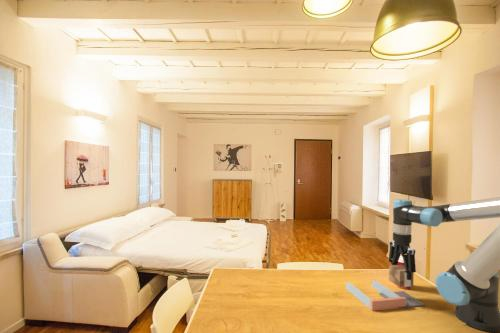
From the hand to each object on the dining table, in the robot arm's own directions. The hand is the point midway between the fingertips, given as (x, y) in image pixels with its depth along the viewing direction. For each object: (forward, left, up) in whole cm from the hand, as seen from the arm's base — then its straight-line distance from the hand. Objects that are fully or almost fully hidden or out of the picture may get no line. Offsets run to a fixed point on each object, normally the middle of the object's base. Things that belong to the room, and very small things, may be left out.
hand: (401, 282), depth 128 cm
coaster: (0, 0, -8) cm, 8 cm away
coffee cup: (+12, -11, -8) cm, 18 cm away
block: (0, 0, 0) cm, 0 cm away
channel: (+5, +11, -8) cm, 14 cm away
